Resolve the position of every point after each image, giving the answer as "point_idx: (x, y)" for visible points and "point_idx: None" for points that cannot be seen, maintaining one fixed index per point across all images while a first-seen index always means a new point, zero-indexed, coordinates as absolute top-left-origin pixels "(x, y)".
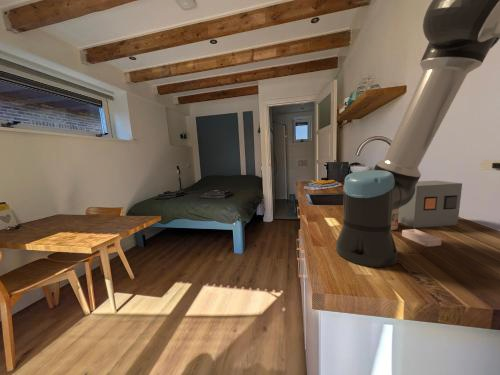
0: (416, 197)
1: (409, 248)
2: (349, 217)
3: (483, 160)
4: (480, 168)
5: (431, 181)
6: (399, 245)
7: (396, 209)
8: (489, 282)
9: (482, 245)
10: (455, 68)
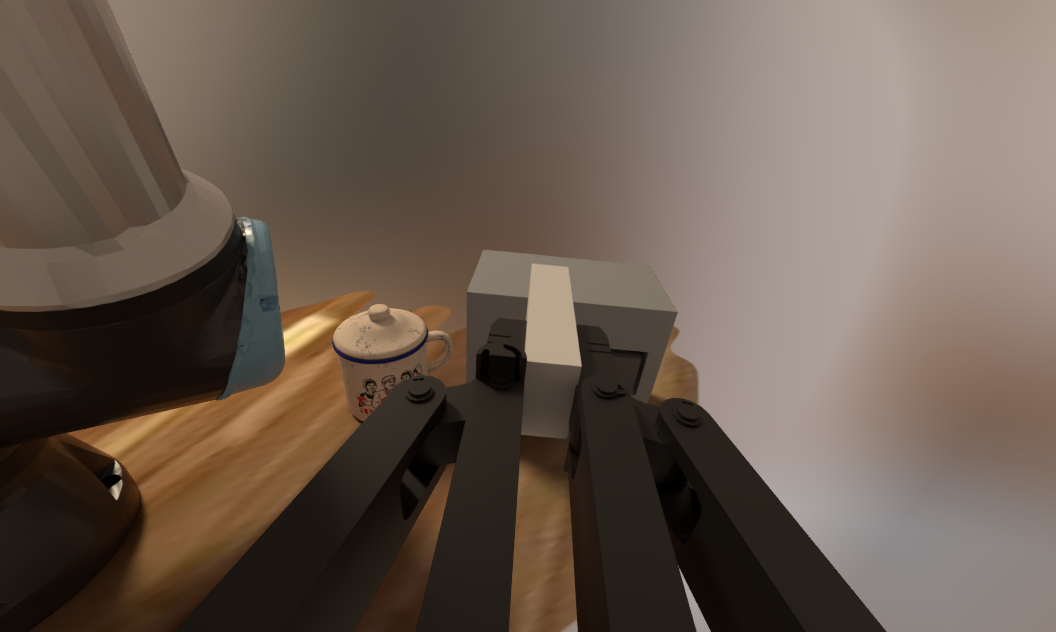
0: (468, 334)
1: (216, 564)
2: None
3: (531, 270)
4: (526, 315)
5: (617, 269)
6: (222, 531)
7: (378, 365)
8: None
9: (515, 615)
10: None
